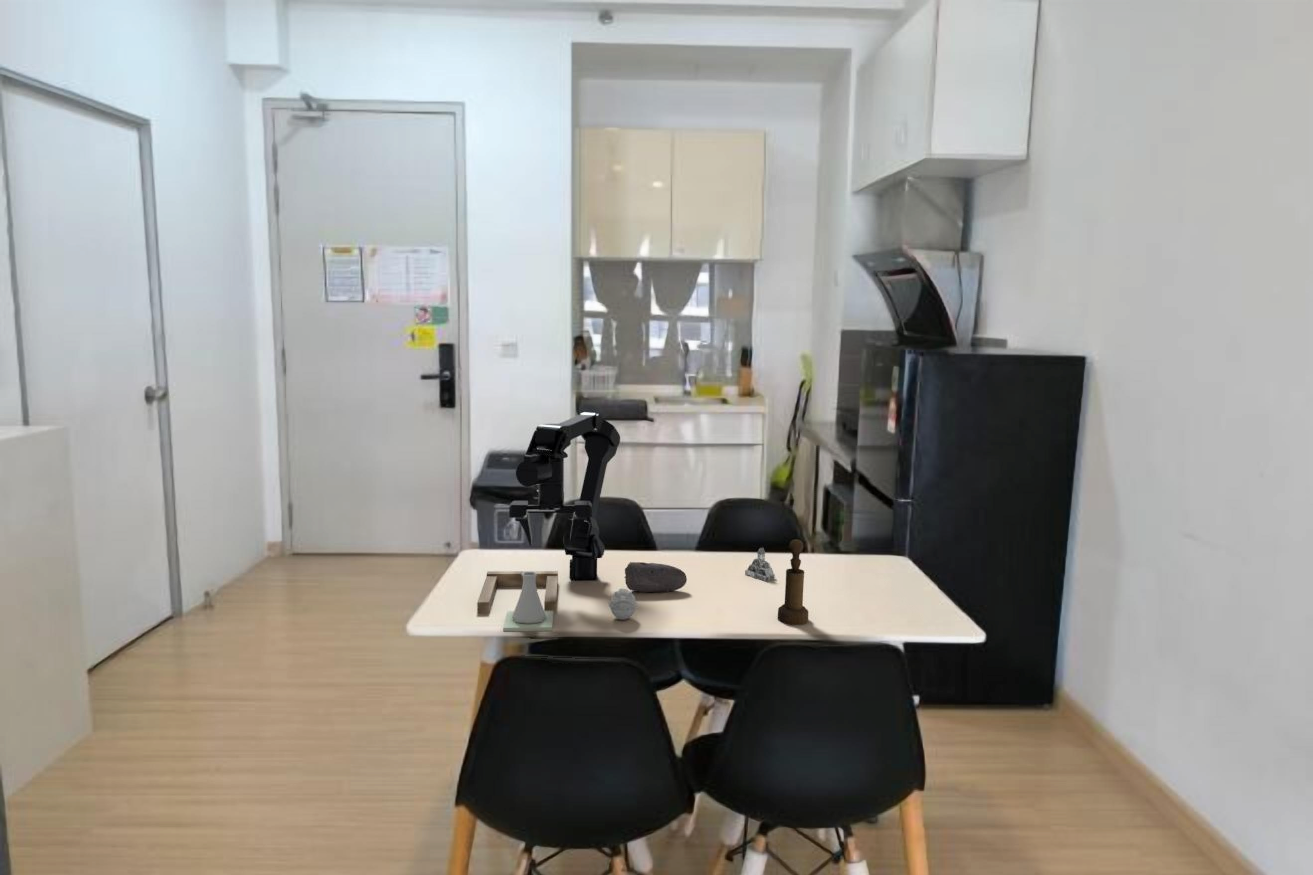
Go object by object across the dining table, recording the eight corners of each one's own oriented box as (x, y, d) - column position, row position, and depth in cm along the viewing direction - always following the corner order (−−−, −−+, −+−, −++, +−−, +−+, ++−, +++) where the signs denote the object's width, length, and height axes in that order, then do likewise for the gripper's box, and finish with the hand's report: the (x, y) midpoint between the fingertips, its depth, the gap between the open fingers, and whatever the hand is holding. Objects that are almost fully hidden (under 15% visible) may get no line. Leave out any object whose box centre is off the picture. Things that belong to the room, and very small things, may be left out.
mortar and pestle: (810, 617, 187) (814, 538, 184) (805, 626, 181) (809, 545, 178) (780, 613, 189) (784, 534, 186) (774, 622, 183) (778, 541, 180)
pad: (553, 614, 185) (553, 610, 185) (551, 630, 175) (552, 627, 175) (507, 614, 184) (507, 610, 184) (503, 631, 174) (503, 627, 174)
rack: (557, 582, 207) (558, 571, 206) (555, 612, 186) (555, 599, 186) (487, 583, 205) (487, 571, 205) (477, 613, 184) (477, 599, 184)
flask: (513, 612, 183) (513, 568, 181) (547, 612, 183) (547, 568, 182) (510, 624, 176) (510, 578, 174) (545, 624, 176) (545, 578, 175)
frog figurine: (608, 625, 179) (609, 593, 178) (608, 613, 186) (609, 583, 185) (637, 625, 179) (637, 593, 178) (636, 613, 186) (636, 583, 185)
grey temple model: (793, 577, 216) (794, 548, 215) (769, 583, 211) (770, 553, 210) (767, 569, 223) (768, 540, 222) (744, 574, 218) (745, 545, 217)
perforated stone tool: (685, 587, 205) (686, 560, 204) (687, 594, 200) (688, 566, 199) (624, 587, 205) (624, 559, 204) (624, 594, 200) (624, 565, 199)
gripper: (591, 472, 203) (590, 536, 205) (512, 472, 201) (512, 536, 203) (592, 482, 192) (591, 548, 194) (508, 481, 190) (509, 549, 192)
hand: (550, 545), depth 196 cm, fingers open, 9 cm apart
